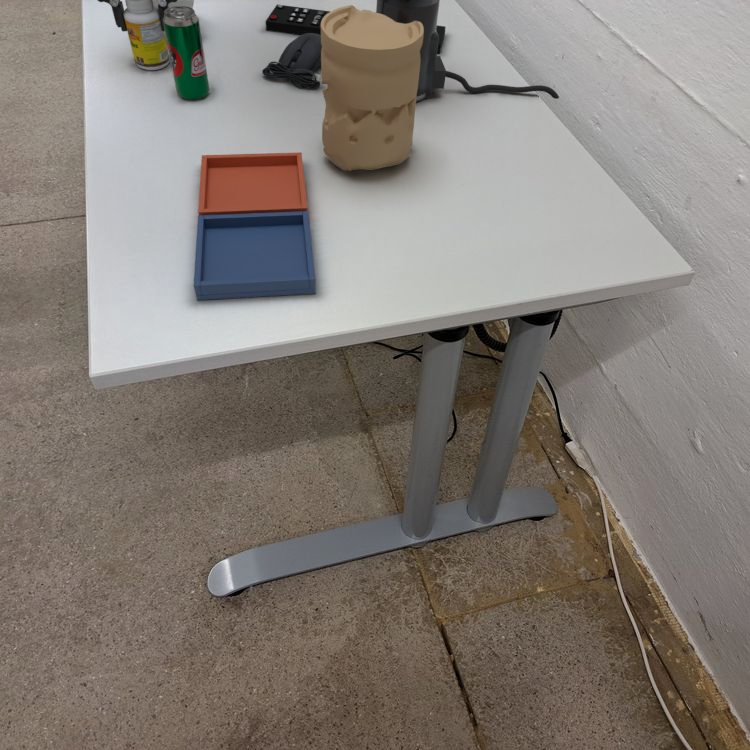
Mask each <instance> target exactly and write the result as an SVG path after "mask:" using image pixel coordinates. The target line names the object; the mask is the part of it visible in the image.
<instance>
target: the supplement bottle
mask: <svg viewBox="0 0 750 750" xmlns="http://www.w3.org/2000/svg"><path fill="white" fill-rule="evenodd" d="M124 1H125V6H126V8H124V14H123V15H124V20H125V24H126V28H127V31H126V32H127V35H128V39H129V45H130V47H131V52H132V57H133V59H134V63H135V64H136V66H137V67H138V68H140V69H143V70H146V71H157V70H160V69H164V68H165V67H167V66H168V65H169V63H170V56H169V51H168V46H167V41H166V38H165V33H164V31H163V30H162V26H161V21H160V16H159V11H158V8H156V7H155V6H154V5H153V1H152V0H124Z"/></svg>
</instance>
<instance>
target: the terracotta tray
mask: <svg viewBox="0 0 750 750" xmlns="http://www.w3.org/2000/svg"><path fill="white" fill-rule="evenodd" d="M200 160H201V162H200V163H201V164H200V177H199V193H198V194H199V195H198V210H197V213H198V216H200V215H226V214H251V213H275V212H300V211H302V212H303V211H308V212H309V209H308V199H307V190H306V182H305V181H306V180H305V172H304V171H305V170H304V162H303V153H302V152H268V153H263V152H262V153H237V154H236V153H233V154H232V153H230V154H203V155H201V159H200Z"/></svg>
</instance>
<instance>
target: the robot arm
mask: <svg viewBox="0 0 750 750" xmlns="http://www.w3.org/2000/svg"><path fill="white" fill-rule="evenodd" d="M97 2H99V3H106V4H109V5H110V7H111V10H112V15H113V18H114V23H115V25H116V27H117V28H120V29H121V32H127V28H126V24H125V20H124V15H123V14H124V11H125V8H124V4H123V0H97ZM157 2H158V11H159V16H160V21H161V26H162V30H163V31H164V26H163V18H164V11H165V10H166V9H168V8H169V6H168V4H169V3H171V2H177V0H157ZM439 9H440V0H376V9H375V12H376V13H380V14H383V15H385V16H387V17H389V18H391V19H392V20H393V21H395V22H398V23H403V24H408V23H411V22H413V21H419V22H421V23H422V25H423V28H424V35H423V43H422V46H421V49H420V58H421V61H420V72H419V82H418V89H417V93H416V94H417V97H416V103H417V102H421V101H422V100H424V99H431V98H432V96H433V90H444V89H445V83H446V78H449V79H451V80H455V81H456V82H459V83H460V84H461V85H462V87H463V89H464V90H465V91H466V92H467V93H472V94H479V93H485V92H488V91H496V92H497V91H498V92H506V93H513V94H515V93H516V94H517V93H518V94H520V93H521V94H523V93H531V92H544V93H547V94H548V95H549V96H551V98H553V99H560V96H559V94H558V93H557V92H556V91H555V89H553V88H552V87H550V86H547V85H529V86H510V85H502V84H486V85H482V86H476V87H475V86H471V85H470V83H468V81H467V80H466V79H465V77H463V76H462V75H459V74H457V73H455V72H452V71H449V70H447V69H446V67H445V63H443V62H444V61H443V60H442V57H441V55H438V54H437V49H438V41H439V36H438V34H437V31H436V27H437V25H438V17H439Z"/></svg>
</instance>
